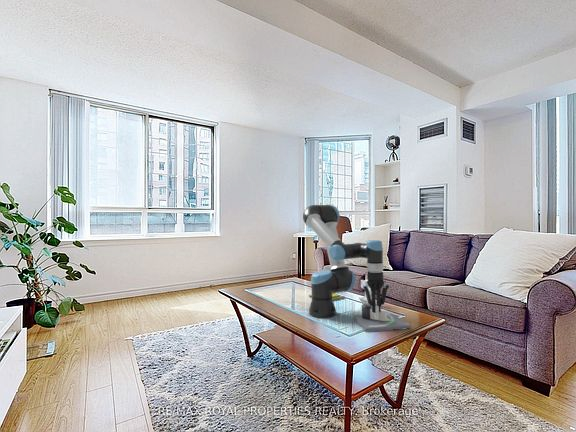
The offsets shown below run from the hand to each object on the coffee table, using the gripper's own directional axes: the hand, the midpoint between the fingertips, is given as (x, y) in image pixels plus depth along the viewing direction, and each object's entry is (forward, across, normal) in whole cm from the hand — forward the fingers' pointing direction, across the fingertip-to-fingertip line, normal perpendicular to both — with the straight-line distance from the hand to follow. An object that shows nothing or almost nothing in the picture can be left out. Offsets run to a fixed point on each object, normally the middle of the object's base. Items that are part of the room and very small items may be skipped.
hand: (376, 318), depth 149 cm
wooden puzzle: (+4, -12, +56) cm, 58 cm away
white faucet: (+3, +9, +35) cm, 36 cm away
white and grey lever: (+1, +1, +3) cm, 4 cm away
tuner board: (+3, +2, +1) cm, 4 cm away
